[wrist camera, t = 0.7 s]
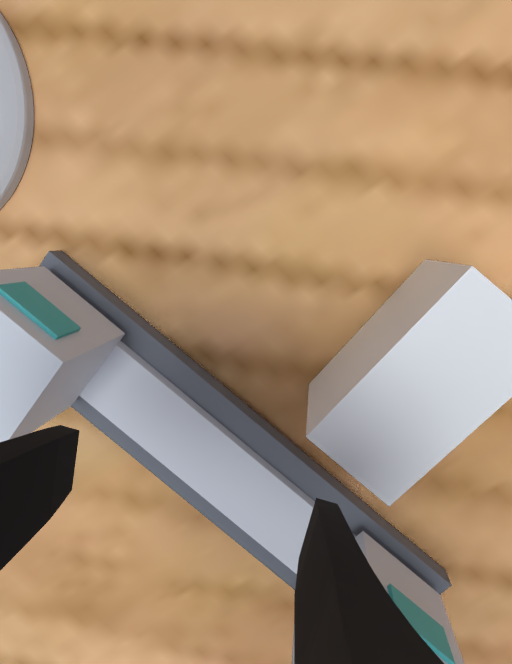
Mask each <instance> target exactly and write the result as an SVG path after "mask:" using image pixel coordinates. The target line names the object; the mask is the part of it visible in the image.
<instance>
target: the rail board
mask: <svg viewBox="0 0 512 664" xmlns="http://www.w3.org/2000/svg"><path fill="white" fill-rule="evenodd" d="M70 406H71V407H72V408H74V409H75V410H76V411H77V412H79V413H80V414H81V415H82V416H83V417H85V418H86V419H87V420H88V421H90V422H91V423H92V424H93V425H94V426H96V427H97V428H98V429H99V430H101V431H102V432H103V433H104V434H105V435H107V436H108V437H109V438H110V439H111V440H113V441H114V442H115V443H116V444H118V445H119V446H120V447H121V448H122V449H124V450H125V451H126V452H127V453H129V454H130V455H131V456H132V457H133V458H135V459H136V460H137V461H138V462H140V463H141V464H142V465H143V466H144V467H146V468H147V469H148V470H149V471H150V472H152V473H153V474H154V475H155V476H157V477H158V478H159V479H160V480H161V481H163V482H164V483H165V484H166V485H168V486H169V487H170V488H171V489H172V490H174V491H175V492H176V493H177V494H179V495H180V496H181V497H182V498H183V499H185V500H186V501H187V502H188V503H189V504H191V505H192V506H193V507H194V508H196V509H197V510H198V511H199V512H200V513H202V514H203V515H204V516H205V517H207V518H208V519H209V520H210V521H211V522H213V523H214V524H215V525H216V526H218V527H219V528H220V529H221V530H222V531H224V532H225V533H226V534H227V535H228V536H230V537H231V538H232V539H233V540H235V541H236V542H237V543H238V544H239V545H241V546H242V547H243V548H244V549H246V550H247V551H248V552H249V553H250V554H252V555H253V556H254V557H255V558H257V559H258V560H259V561H260V562H261V563H263V564H264V565H265V566H266V567H267V568H269V569H270V570H271V571H272V572H274V573H275V574H276V575H277V576H278V577H280V578H281V579H282V580H283V581H285V582H286V583H287V584H288V585H289V586H291V587H292V588H293V589H294V590H295V586H296V577H297V568H298V560H299V555H300V552H301V548H302V545H303V541H304V538H305V535H306V531H307V528H308V524H309V521H310V517H311V514H312V510H313V507H314V504H315V500H316V498H319V499H322V500H326V501H329V502H333V503H336V504H338V506H339V507H340V509H341V511H342V513H343V515H344V517H345V519H346V521H347V523H348V525H349V527H350V529H351V531H352V533H353V535H354V537H355V539H356V541H357V543H358V545H359V547H360V548H361V550H362V552H363V554H364V555H365V557H366V559H367V561H368V563H369V564H370V566H371V568H372V569H373V571H374V573H375V574H376V576H377V577H378V579H379V581H380V582H381V584H382V585H383V587H384V588H385V590H386V591H387V593H388V594H389V596H390V597H391V599H392V600H393V601H394V603H395V604H396V605H397V607H398V608H399V609H400V611H401V612H402V613H403V615H404V616H405V617H406V619H407V620H408V621H409V623H410V624H411V625H412V627H413V628H414V629H415V630H416V631H417V633H418V634H419V635H420V636H421V638H422V639H423V640H424V641H425V642H426V643H427V645H428V646H429V647H430V648H431V649H432V650H433V651H434V653H435V654H436V655H437V656H438V657H439V658H440V659H441V661H442V662H443V663H444V664H464V661H463V659H462V656H461V653H460V650H459V647H458V644H457V641H456V639H455V636H454V633H453V630H452V627H451V624H450V621H449V619H448V616H447V613H446V610H445V607H444V604H443V601H442V599H441V596H440V594H441V593H443V592H444V591H445V590H446V589H448V588H449V587H450V586H451V583H450V580H449V578H448V575H447V573H446V570H445V569H444V568H442V567H441V566H440V565H439V564H437V563H436V562H435V561H434V560H433V559H431V558H430V557H429V556H428V555H427V554H425V553H424V552H423V551H422V550H421V549H419V548H418V547H417V546H416V545H415V544H413V543H412V542H411V541H410V540H409V539H407V538H406V537H405V536H404V535H403V534H401V533H400V532H399V531H398V530H397V529H395V528H394V527H393V526H392V525H391V524H389V523H388V522H387V521H386V520H385V519H383V518H382V517H381V516H380V515H379V514H377V513H376V512H375V511H374V510H373V509H371V508H370V507H369V506H368V505H367V504H365V503H364V502H363V501H362V500H361V499H359V498H358V497H357V496H356V495H355V494H353V493H352V492H351V491H350V490H349V489H347V488H346V487H345V486H344V485H342V484H341V483H340V482H339V481H338V480H336V479H335V478H334V477H333V476H332V475H330V474H329V473H328V472H327V471H326V470H324V469H323V468H322V467H321V466H320V465H318V464H317V463H316V462H315V461H314V460H312V459H311V458H310V457H309V456H308V455H306V454H305V453H304V452H303V451H302V450H300V449H299V448H298V447H297V446H296V445H294V444H293V443H292V442H291V441H290V440H288V439H287V438H286V437H285V436H284V435H282V434H281V433H280V432H279V431H278V430H276V429H275V428H274V427H273V426H272V425H270V424H269V423H268V422H267V421H266V420H264V419H263V418H262V417H261V416H260V415H258V414H257V413H256V412H255V411H254V410H252V409H251V408H250V407H249V406H247V405H246V404H245V403H244V402H243V401H241V400H240V399H239V398H238V397H237V396H235V395H234V394H233V393H232V392H231V391H229V390H228V389H227V388H226V387H225V386H223V385H222V384H221V383H220V382H219V381H217V380H216V379H215V378H214V377H213V376H211V375H210V374H209V373H208V372H207V371H205V370H204V369H203V368H202V367H201V366H199V365H198V364H197V363H196V362H195V361H193V360H192V359H191V358H190V357H189V356H187V355H186V354H185V353H184V352H183V351H181V350H180V349H179V348H178V347H177V346H175V345H174V344H173V343H172V342H171V341H169V340H168V339H167V338H166V337H165V336H163V335H162V334H161V333H160V332H159V331H157V330H156V329H155V328H154V327H152V326H151V325H150V324H149V323H148V322H146V321H145V320H144V319H143V318H142V317H140V316H139V315H138V314H137V313H136V312H134V311H133V310H132V309H131V308H130V307H128V306H127V305H126V304H125V303H124V302H122V301H121V300H120V299H119V298H118V297H116V296H115V295H114V294H113V293H112V292H110V291H109V290H108V289H107V288H106V287H104V286H103V285H102V284H101V283H100V282H98V281H97V280H96V279H95V278H94V277H92V276H91V275H90V274H89V273H88V272H86V271H85V270H84V269H83V268H82V267H80V266H79V265H78V264H77V263H76V262H74V261H73V260H72V259H71V258H70V257H68V256H67V255H66V254H65V253H64V252H62V251H49V252H48V253H47V255H46V256H45V258H44V260H43V261H42V263H41V264H40V266H39V267H29V268H17V269H5V270H0V442H3V441H6V440H9V439H13V438H16V437H19V436H23V435H26V434H29V433H31V432H33V431H34V430H36V429H37V428H39V427H40V426H42V425H43V424H45V423H46V422H48V421H49V420H51V419H52V418H54V417H55V416H57V415H58V414H60V413H61V412H63V411H64V410H66V409H67V408H69V407H70ZM292 664H294V635H293V652H292Z"/></svg>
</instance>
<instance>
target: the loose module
mask: <svg viewBox="0 0 512 664" xmlns="http://www.w3.org/2000/svg"><path fill="white" fill-rule="evenodd" d="M511 397H512V300H511V299H510V298H509V297H508V296H507V295H506V294H504V293H503V292H502V291H501V290H500V289H499V288H497V287H496V286H495V285H494V284H493V283H492V282H490V281H489V280H488V279H487V278H486V277H485V276H483V275H482V274H481V273H480V272H479V271H478V270H476V269H475V268H474V267H473V266H469V265H462V264H455V263H448V262H441V261H434V260H427V259H425V260H424V261H423V262H422V263H421V264H420V265H419V266H418V267H417V268H416V270H415V271H414V272H413V273H412V274H411V275H410V276H409V277H408V278H407V279H406V280H405V281H404V282H403V284H402V285H401V286H400V287H399V288H398V289H397V290H396V291H395V292H394V293H393V294H392V295H391V296H390V297H389V299H388V300H387V301H386V302H385V303H384V304H383V305H382V306H381V307H380V308H379V309H378V310H377V311H376V313H375V314H374V315H373V316H372V317H371V318H370V319H369V320H368V321H367V322H366V323H365V324H364V325H363V326H362V328H361V329H360V330H359V331H358V332H357V333H356V334H355V335H354V336H353V337H352V338H351V339H350V340H349V342H348V343H347V344H346V345H345V346H344V347H343V348H342V349H341V350H340V351H339V352H338V353H337V354H336V355H335V357H334V358H333V359H332V360H331V361H330V362H329V363H328V364H327V365H326V366H325V367H324V368H323V369H322V370H321V372H320V373H319V374H318V375H317V376H316V377H315V378H314V379H313V380H312V381H311V382H310V383H309V393H308V409H307V425H306V438H308V439H309V440H310V441H311V442H312V443H314V444H315V445H316V446H317V447H318V448H320V449H321V450H322V451H323V452H324V453H326V454H327V455H328V456H329V457H330V458H332V459H333V460H334V461H335V462H336V463H338V464H339V465H340V466H341V467H342V468H344V469H345V470H346V471H347V472H348V473H350V474H351V475H352V476H353V477H354V478H356V479H357V480H358V481H359V482H360V483H362V484H363V485H364V486H365V487H366V488H368V489H369V490H370V491H371V492H372V493H374V494H375V495H376V496H377V497H378V498H380V499H381V500H382V501H383V502H384V503H386V504H387V505H388V506H390V505H392V504H393V503H394V502H395V501H396V500H397V499H398V498H399V497H400V496H402V495H403V494H404V493H405V492H406V491H407V490H408V489H409V488H410V487H412V486H413V485H414V484H415V483H416V482H417V481H418V480H419V479H421V478H422V477H423V476H424V475H425V474H426V473H427V472H428V471H429V470H431V469H432V468H433V467H434V466H435V465H436V464H437V463H438V462H440V461H441V460H442V459H443V458H444V457H445V456H446V455H447V454H448V453H450V452H451V451H452V450H453V449H454V448H455V447H456V446H457V445H459V444H460V443H461V442H462V441H463V440H464V439H465V438H466V437H467V436H469V435H470V434H471V433H472V432H473V431H474V430H475V429H476V428H478V427H479V426H480V425H481V424H482V423H483V422H484V421H485V420H486V419H488V418H489V417H490V416H491V415H492V414H493V413H494V412H495V411H497V410H498V409H499V408H500V407H501V406H502V405H503V404H504V403H505V402H507V401H508V400H509V399H510V398H511Z"/></svg>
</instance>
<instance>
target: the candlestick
mask: <svg viewBox="0 0 512 664" xmlns="http://www.w3.org/2000/svg"><path fill="white" fill-rule="evenodd" d="M33 129H34V105H33V94H32V88H31V82H30V78H29V73H28V70H27V66H26V63H25V60H24V57H23V54H22V51H21V49H20V47H19V44H18V42H17V40H16V38H15V36H14V34H13V32H12V30H11V28H10V27H9V25H8V23H7V22H6V20H5V18H4V17H3V15H2V14H1V12H0V209H1V208H2V207H3V206H4V205H5V204H6V202H7V201H8V200H9V198H10V197H11V196H12V194H13V193H14V191H15V189H16V188H17V186H18V184H19V182H20V180H21V178H22V176H23V173H24V171H25V168H26V165H27V162H28V158H29V154H30V150H31V145H32V139H33Z"/></svg>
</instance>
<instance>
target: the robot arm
mask: <svg viewBox="0 0 512 664" xmlns="http://www.w3.org/2000/svg"><path fill="white" fill-rule="evenodd" d="M78 437H79V430H76V429H72V428H68V427H65V426H61V425H59V426H55V427H50V428H47V429H43V430H39V431H36V432H33V433H29V434H26V435H23V436H19V437H16V438H13V439H9V440H6V441H3V442H0V570H1V569H2V568H3V567H4V566H5V565H6V564H7V563H8V562H9V561H10V560H11V559H12V558H13V557H14V556H15V555H16V554H17V553H18V552H19V551H20V550H21V549H22V548H23V547H24V546H25V545H26V544H27V543H28V542H29V541H30V540H31V538H32V537H33V536H34V535H35V534H36V533H37V532H38V531H39V530H40V529H41V528H42V527H43V526H44V525H45V524H46V523H47V522H48V521H49V519H50V518H51V517H52V516H53V514H54V513H55V512H56V511H57V509H58V508H59V507H60V505H61V504H62V503H63V501H64V500H65V498H66V497H67V496H68V494H69V493H70V492H71V490H72V484H73V476H74V468H75V460H76V453H77V445H78ZM294 664H444V663H443V662H442V661H441V659H440V658H439V657H438V656H437V655H436V654H435V653H434V651H433V650H432V649H431V648H430V647H429V646H428V645H427V643H426V642H425V641H424V640H423V639H422V638H421V636H420V635H419V634H418V633H417V631H416V630H415V629H414V628H413V627H412V625H411V624H410V623H409V621H408V620H407V619H406V617H405V616H404V615H403V613H402V612H401V611H400V609H399V608H398V607H397V605H396V604H395V603H394V601H393V600H392V599H391V597H390V596H389V594H388V593H387V591H386V590H385V588H384V587H383V585H382V584H381V582H380V581H379V579H378V577H377V576H376V574H375V573H374V571H373V569H372V568H371V566H370V564H369V563H368V561H367V559H366V557H365V555H364V554H363V552H362V550H361V548H360V547H359V545H358V543H357V541H356V539H355V537H354V535H353V533H352V531H351V529H350V527H349V525H348V523H347V521H346V519H345V517H344V515H343V513H342V511H341V509H340V507H339V506H338V504H336V503H333V502H329V501H326V500H322V499H319V498H316V500H315V504H314V507H313V510H312V514H311V517H310V521H309V524H308V528H307V531H306V535H305V538H304V541H303V545H302V548H301V552H300V555H299V560H298V568H297V577H296V586H295V617H294Z"/></svg>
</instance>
